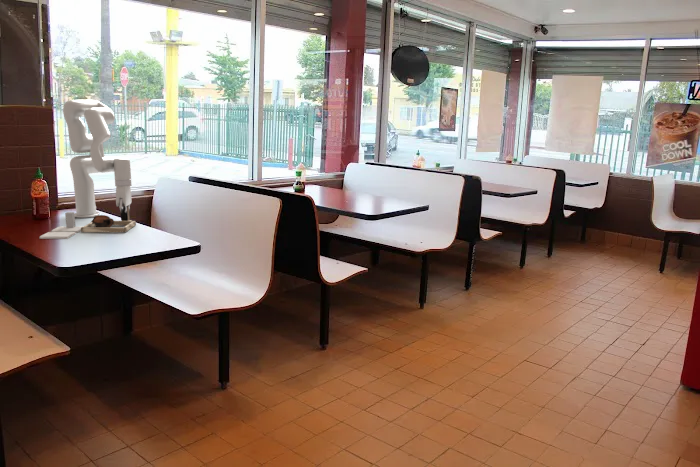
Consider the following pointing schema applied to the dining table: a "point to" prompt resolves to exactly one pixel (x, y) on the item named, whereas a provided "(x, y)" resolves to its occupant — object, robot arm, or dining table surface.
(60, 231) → the white base with block
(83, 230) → the beige rectangular tray
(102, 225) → the brown rounded lump
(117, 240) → the dining table surface
